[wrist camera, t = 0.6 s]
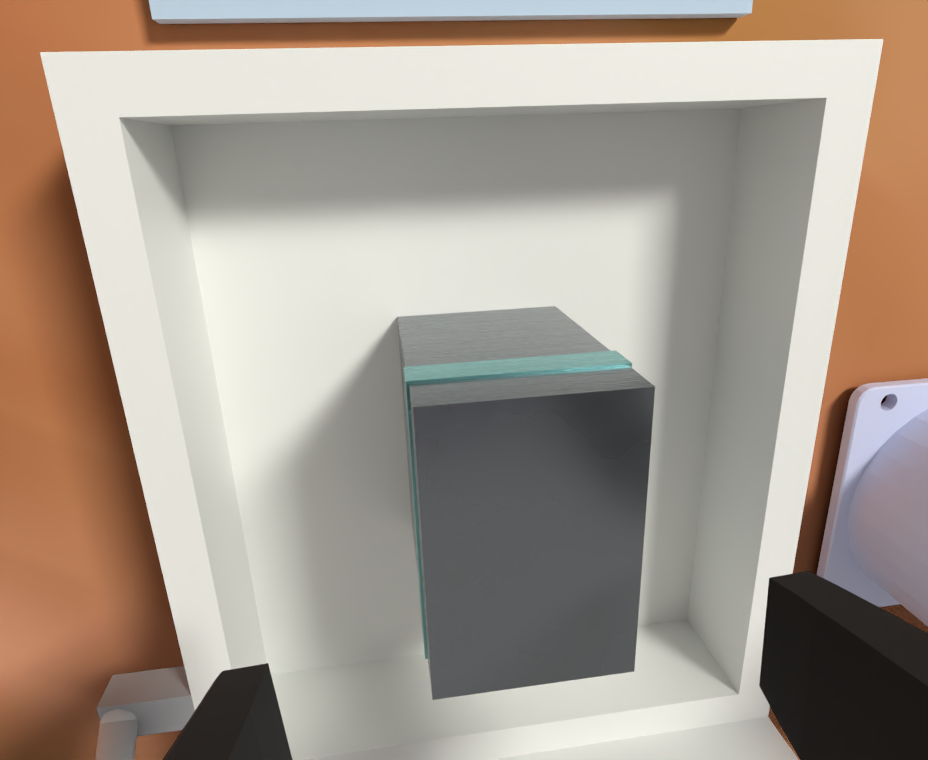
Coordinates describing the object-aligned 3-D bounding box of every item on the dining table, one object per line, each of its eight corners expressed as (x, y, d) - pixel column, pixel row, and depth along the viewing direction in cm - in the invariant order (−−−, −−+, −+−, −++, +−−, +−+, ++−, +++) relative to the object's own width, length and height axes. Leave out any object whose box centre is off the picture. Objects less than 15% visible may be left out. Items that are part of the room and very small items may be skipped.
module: (557, 303, 16) (658, 383, 10) (553, 512, 18) (636, 673, 12) (395, 314, 15) (409, 404, 10) (410, 528, 18) (430, 702, 12)
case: (773, 64, 15) (1161, -25, 8) (703, 653, 21) (882, 920, 14) (13, 79, 13) (-449, -21, 6) (176, 727, 19) (54, 1086, 12)
